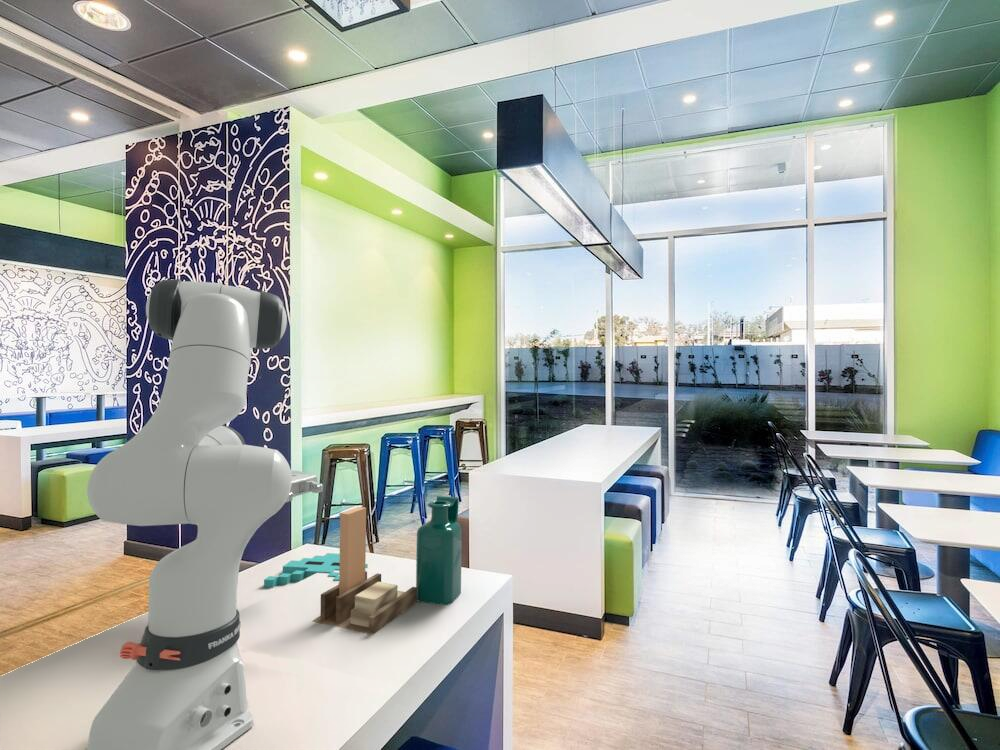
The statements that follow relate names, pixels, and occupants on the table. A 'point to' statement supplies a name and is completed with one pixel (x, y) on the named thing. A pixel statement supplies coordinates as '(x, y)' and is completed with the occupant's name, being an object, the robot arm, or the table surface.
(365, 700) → the table surface
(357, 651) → the table surface
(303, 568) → the alien figure
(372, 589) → the offcut stack
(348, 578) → the panel
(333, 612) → the rack
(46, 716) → the table surface
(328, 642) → the table surface
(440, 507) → the pitcher
